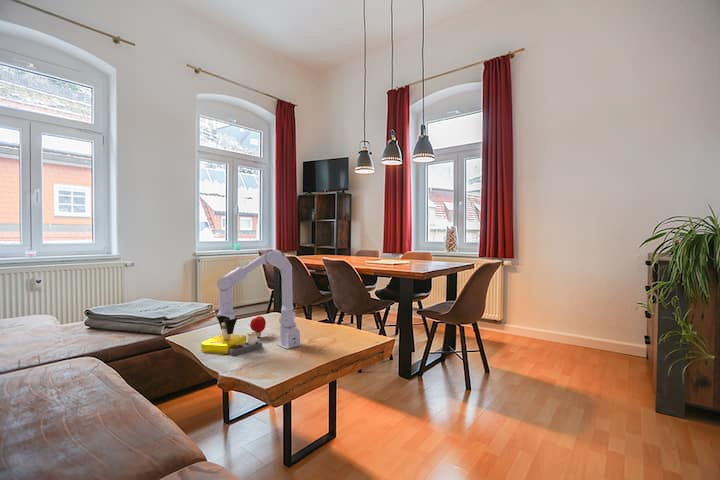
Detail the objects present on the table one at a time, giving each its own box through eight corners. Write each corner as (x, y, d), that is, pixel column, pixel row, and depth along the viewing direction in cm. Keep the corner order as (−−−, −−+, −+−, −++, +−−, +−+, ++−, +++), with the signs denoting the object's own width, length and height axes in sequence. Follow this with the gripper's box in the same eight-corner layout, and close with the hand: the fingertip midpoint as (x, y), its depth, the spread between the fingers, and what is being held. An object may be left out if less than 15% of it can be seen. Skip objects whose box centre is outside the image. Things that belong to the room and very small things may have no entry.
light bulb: (260, 340, 172) (259, 319, 171) (247, 339, 173) (246, 319, 173) (269, 334, 181) (268, 315, 181) (256, 334, 182) (255, 314, 182)
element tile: (199, 352, 157) (198, 342, 157) (220, 342, 172) (220, 332, 172) (228, 355, 153) (228, 344, 153) (248, 344, 168) (248, 334, 168)
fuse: (257, 348, 160) (257, 333, 160) (249, 350, 158) (249, 334, 157) (254, 346, 163) (253, 331, 163) (246, 348, 160) (245, 333, 160)
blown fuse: (231, 338, 162) (231, 322, 162) (223, 339, 160) (223, 324, 159) (228, 336, 165) (228, 321, 165) (220, 338, 162) (220, 322, 162)
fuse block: (262, 348, 160) (262, 343, 160) (231, 355, 151) (231, 350, 151) (256, 345, 165) (256, 340, 165) (226, 352, 156) (226, 347, 156)
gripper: (211, 301, 165) (212, 331, 165) (222, 306, 154) (224, 337, 154) (226, 299, 169) (227, 327, 170) (238, 303, 158) (240, 334, 159)
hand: (227, 332), depth 162 cm, fingers open, 7 cm apart
